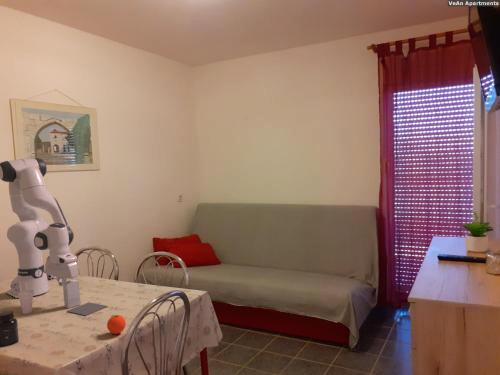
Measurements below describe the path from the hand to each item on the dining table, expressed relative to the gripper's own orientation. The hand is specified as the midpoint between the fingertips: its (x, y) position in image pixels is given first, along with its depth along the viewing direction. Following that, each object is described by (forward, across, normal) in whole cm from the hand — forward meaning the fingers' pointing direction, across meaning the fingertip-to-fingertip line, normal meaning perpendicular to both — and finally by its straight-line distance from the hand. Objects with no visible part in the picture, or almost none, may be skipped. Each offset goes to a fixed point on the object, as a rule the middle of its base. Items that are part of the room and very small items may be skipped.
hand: (62, 285), depth 187 cm
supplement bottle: (+9, +20, -37) cm, 43 cm away
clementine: (+10, +50, -13) cm, 53 cm away
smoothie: (+9, -6, -14) cm, 18 cm away
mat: (+9, +17, 0) cm, 19 cm away
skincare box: (+9, +7, 0) cm, 11 cm away
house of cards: (+10, -53, +29) cm, 61 cm away
